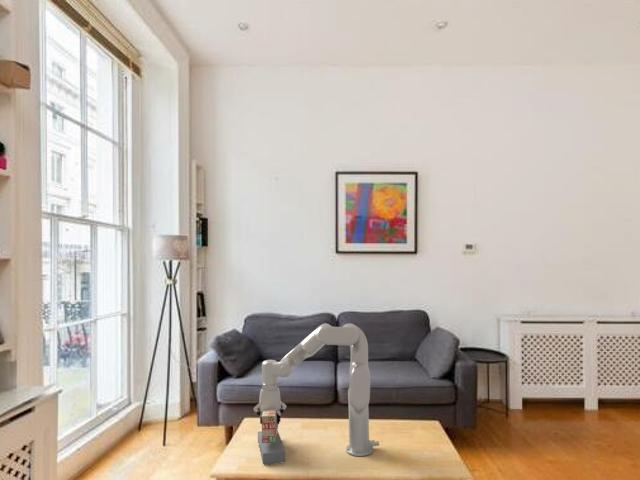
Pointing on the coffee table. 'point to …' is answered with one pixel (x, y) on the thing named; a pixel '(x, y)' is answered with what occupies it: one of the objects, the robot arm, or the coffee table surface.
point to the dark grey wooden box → (271, 450)
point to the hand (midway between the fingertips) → (270, 423)
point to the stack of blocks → (269, 426)
